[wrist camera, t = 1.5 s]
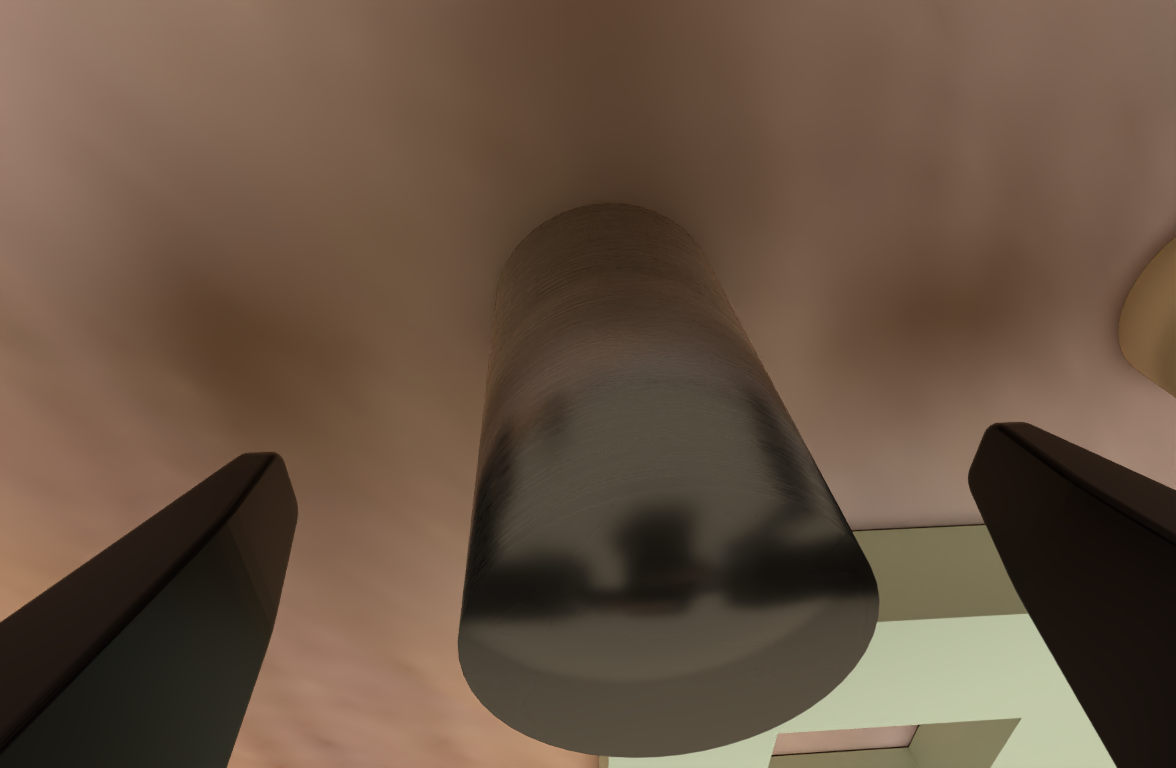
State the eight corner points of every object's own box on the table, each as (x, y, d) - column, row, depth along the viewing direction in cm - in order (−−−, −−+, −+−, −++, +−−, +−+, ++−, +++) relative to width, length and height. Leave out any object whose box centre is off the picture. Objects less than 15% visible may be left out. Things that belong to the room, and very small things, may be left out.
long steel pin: (726, 201, 11) (930, 479, 5) (704, 397, 13) (832, 744, 8) (486, 206, 11) (432, 501, 5) (503, 404, 13) (478, 768, 7)
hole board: (1176, 515, 16) (1271, 599, 14) (987, 800, 24) (1030, 881, 22) (602, 543, 16) (612, 636, 13) (597, 827, 23) (603, 915, 21)
